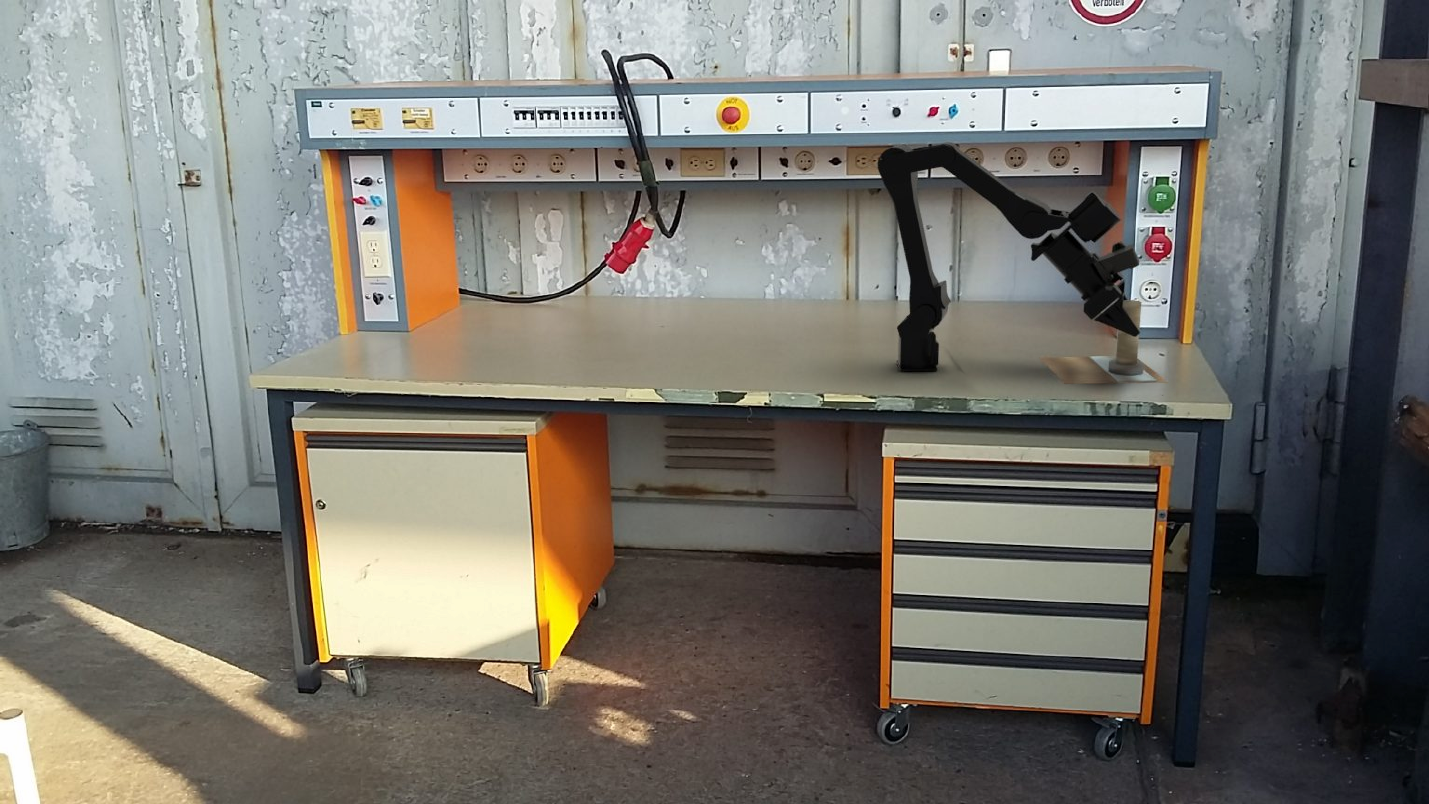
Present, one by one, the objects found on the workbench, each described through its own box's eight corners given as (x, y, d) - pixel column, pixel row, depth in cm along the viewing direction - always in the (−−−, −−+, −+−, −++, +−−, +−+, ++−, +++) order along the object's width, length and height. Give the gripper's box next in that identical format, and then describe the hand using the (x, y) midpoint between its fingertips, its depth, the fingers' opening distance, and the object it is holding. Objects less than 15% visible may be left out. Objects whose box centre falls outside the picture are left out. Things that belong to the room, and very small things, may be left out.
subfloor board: (1064, 390, 202) (1065, 382, 202) (1038, 364, 220) (1039, 356, 219) (1168, 389, 202) (1168, 380, 202) (1134, 362, 219) (1134, 355, 219)
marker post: (1110, 375, 206) (1115, 305, 202) (1106, 366, 211) (1111, 298, 208) (1145, 376, 205) (1151, 305, 202) (1140, 367, 210) (1145, 298, 207)
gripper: (1110, 236, 194) (1178, 308, 194) (1113, 221, 211) (1176, 287, 211) (1055, 283, 199) (1122, 353, 198) (1063, 264, 216) (1124, 329, 215)
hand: (1138, 329), depth 205 cm, fingers open, 9 cm apart
